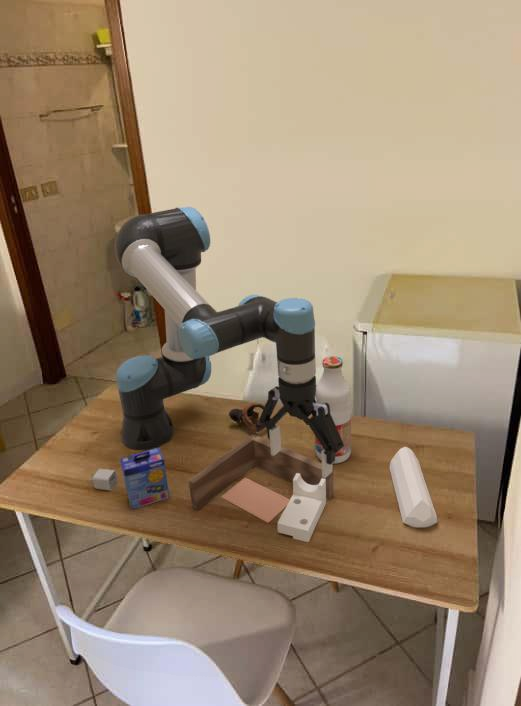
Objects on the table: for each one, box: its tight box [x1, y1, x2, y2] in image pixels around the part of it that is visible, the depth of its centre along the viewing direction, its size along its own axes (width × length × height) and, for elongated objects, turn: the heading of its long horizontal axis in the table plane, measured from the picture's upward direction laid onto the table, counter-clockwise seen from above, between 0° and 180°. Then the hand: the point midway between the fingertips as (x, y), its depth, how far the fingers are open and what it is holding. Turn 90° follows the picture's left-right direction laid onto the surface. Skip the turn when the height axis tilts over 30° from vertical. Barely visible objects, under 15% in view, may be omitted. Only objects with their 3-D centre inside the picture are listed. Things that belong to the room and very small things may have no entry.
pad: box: [220, 477, 291, 524], centre depth 133 cm, size 15×9×1 cm, turn 50°
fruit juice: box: [314, 355, 352, 465], centre depth 142 cm, size 9×9×28 cm
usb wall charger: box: [86, 468, 119, 492], centre depth 141 cm, size 4×7×4 cm, turn 76°
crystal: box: [389, 446, 438, 528], centre depth 130 cm, size 7×7×24 cm
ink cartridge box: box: [119, 447, 171, 510], centre depth 133 cm, size 10×6×14 cm, turn 113°
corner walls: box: [188, 434, 334, 511], centre depth 131 cm, size 25×23×8 cm
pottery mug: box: [228, 402, 267, 436], centre depth 161 cm, size 12×10×8 cm
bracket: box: [277, 473, 327, 543], centre depth 125 cm, size 13×7×8 cm, turn 157°
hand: (300, 463), depth 119 cm, fingers open, 13 cm apart
